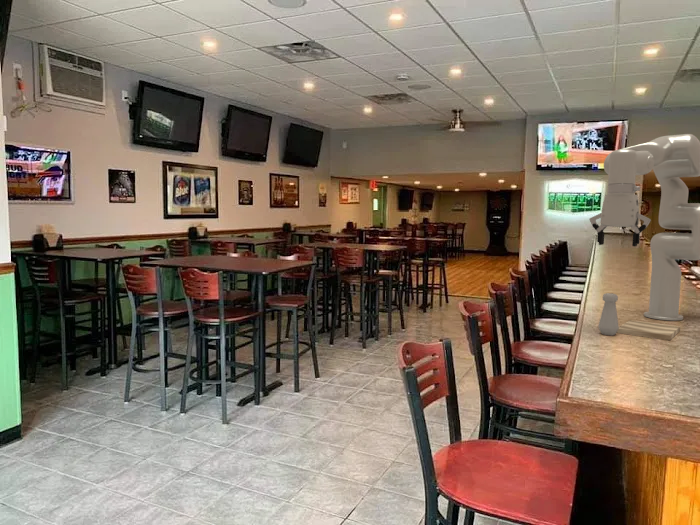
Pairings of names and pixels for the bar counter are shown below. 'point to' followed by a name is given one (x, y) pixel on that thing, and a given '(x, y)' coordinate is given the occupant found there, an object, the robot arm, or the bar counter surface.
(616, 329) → the salt shaker
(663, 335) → the serving board
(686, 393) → the bar counter surface
